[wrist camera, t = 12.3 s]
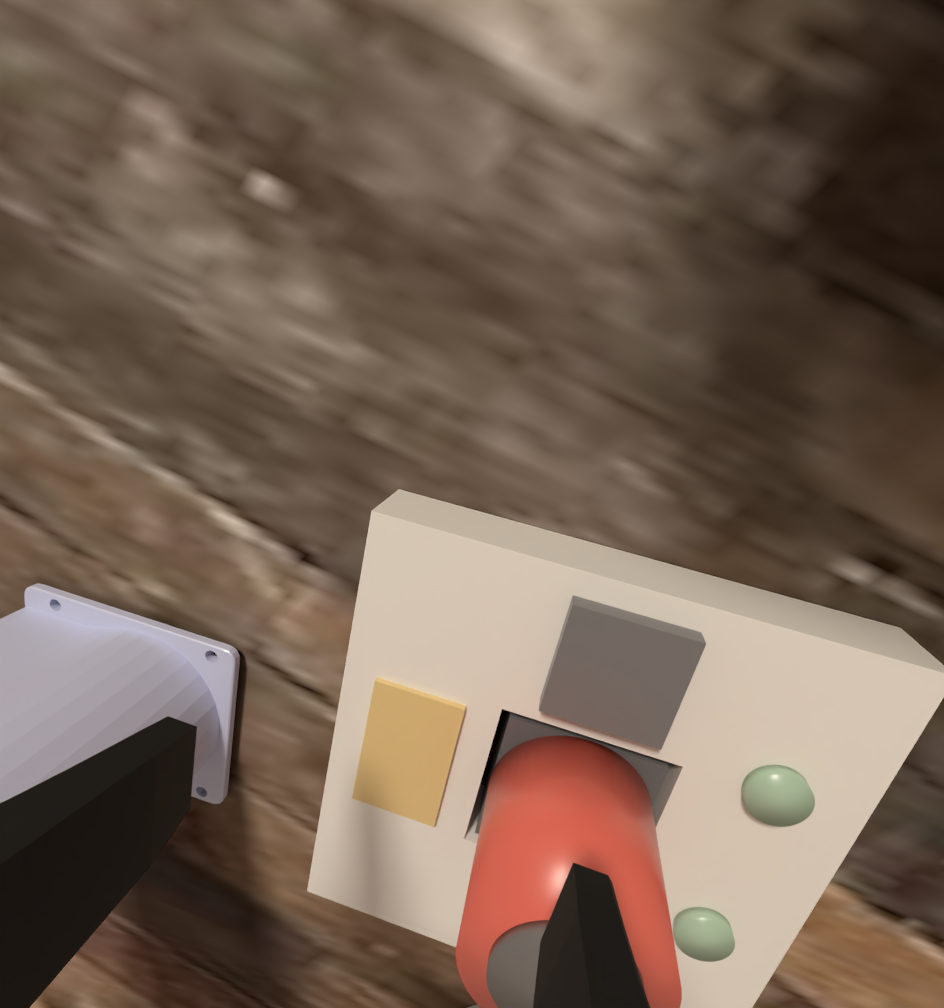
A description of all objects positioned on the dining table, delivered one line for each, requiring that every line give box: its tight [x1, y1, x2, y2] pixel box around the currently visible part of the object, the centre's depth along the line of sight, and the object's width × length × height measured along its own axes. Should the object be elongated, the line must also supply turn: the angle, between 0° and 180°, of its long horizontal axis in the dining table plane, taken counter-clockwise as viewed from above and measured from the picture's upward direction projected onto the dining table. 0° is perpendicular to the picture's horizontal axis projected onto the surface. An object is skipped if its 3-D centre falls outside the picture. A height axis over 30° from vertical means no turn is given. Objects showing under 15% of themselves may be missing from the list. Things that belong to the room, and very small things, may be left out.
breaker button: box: [475, 711, 669, 834], centre depth 18 cm, size 5×5×2 cm
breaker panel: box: [307, 489, 944, 1008], centre depth 18 cm, size 16×16×3 cm
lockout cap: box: [456, 735, 682, 1008], centre depth 15 cm, size 5×5×5 cm
